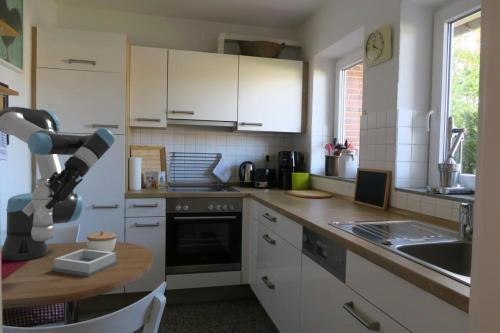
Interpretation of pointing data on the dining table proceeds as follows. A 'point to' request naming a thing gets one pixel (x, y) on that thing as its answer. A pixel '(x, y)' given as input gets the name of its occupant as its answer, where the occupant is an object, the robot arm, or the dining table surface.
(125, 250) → the dining table surface
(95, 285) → the dining table surface
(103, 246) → the lidded jar
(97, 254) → the light grey square tray
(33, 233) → the plastic bottle
